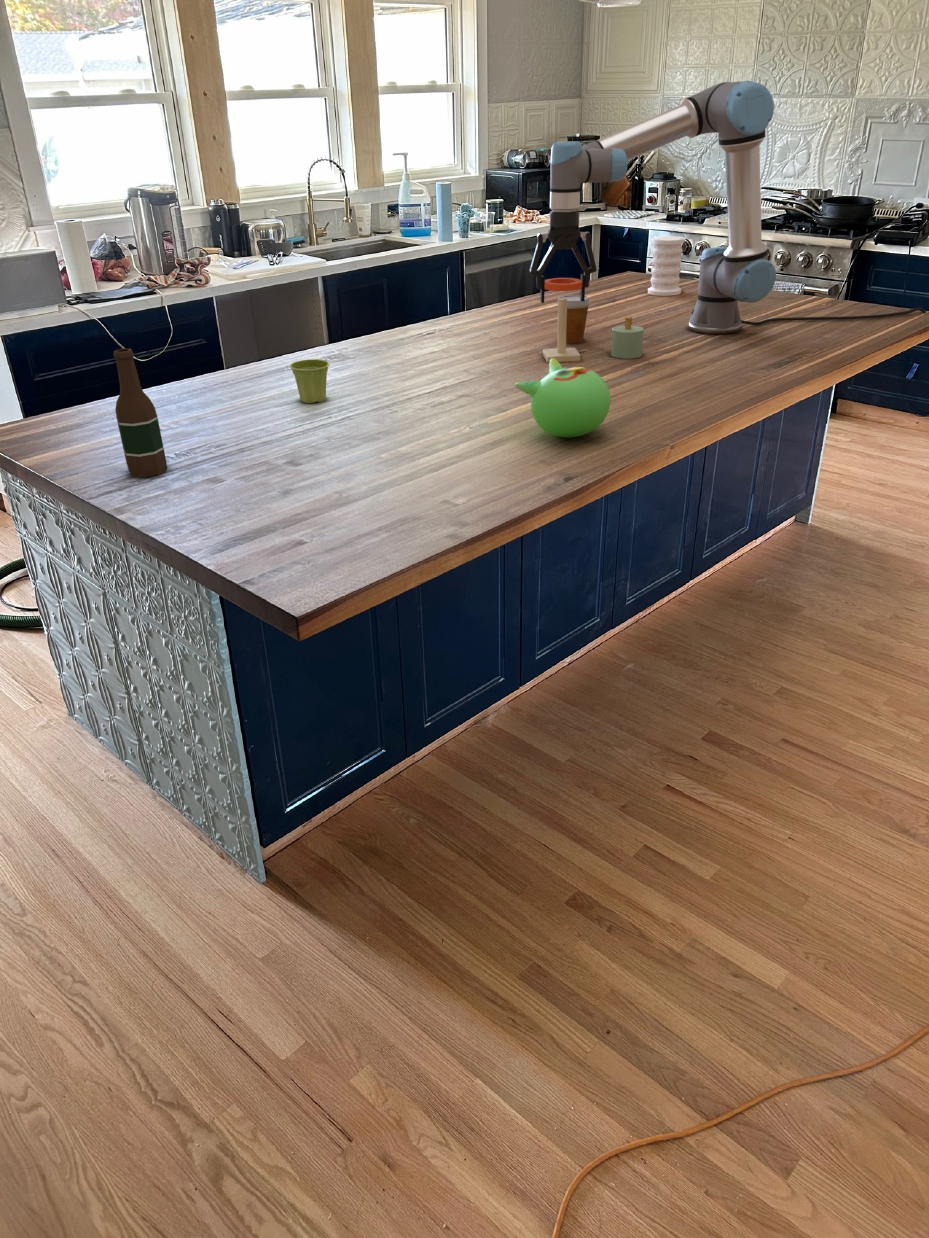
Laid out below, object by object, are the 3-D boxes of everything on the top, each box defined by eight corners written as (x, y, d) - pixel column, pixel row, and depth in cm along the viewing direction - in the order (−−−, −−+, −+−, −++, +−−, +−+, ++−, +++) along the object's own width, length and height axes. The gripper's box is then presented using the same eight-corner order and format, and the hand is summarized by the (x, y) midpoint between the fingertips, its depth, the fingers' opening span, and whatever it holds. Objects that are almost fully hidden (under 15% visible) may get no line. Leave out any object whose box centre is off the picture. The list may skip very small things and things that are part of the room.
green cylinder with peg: (638, 350, 257) (640, 313, 252) (645, 358, 250) (647, 320, 245) (608, 351, 257) (610, 314, 252) (614, 359, 249) (616, 321, 244)
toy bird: (585, 453, 186) (587, 380, 179) (512, 440, 194) (511, 370, 187) (621, 427, 199) (625, 359, 192) (551, 417, 207) (552, 350, 200)
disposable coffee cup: (588, 336, 273) (589, 294, 267) (589, 344, 265) (590, 301, 259) (556, 337, 274) (556, 294, 268) (555, 344, 266) (556, 301, 260)
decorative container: (647, 295, 323) (651, 240, 314) (647, 289, 333) (651, 236, 324) (681, 296, 321) (686, 240, 312) (680, 289, 331) (684, 235, 322)
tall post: (575, 353, 257) (576, 295, 249) (580, 361, 249) (582, 301, 241) (542, 354, 256) (543, 296, 249) (547, 362, 248) (547, 303, 241)
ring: (578, 283, 248) (578, 277, 247) (584, 290, 239) (584, 284, 238) (541, 284, 247) (541, 278, 247) (546, 291, 239) (546, 285, 238)
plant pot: (339, 395, 227) (336, 360, 222) (322, 407, 219) (318, 370, 215) (305, 393, 230) (301, 358, 225) (287, 404, 222) (282, 368, 218)
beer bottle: (133, 465, 188) (106, 346, 176) (171, 463, 188) (148, 344, 176) (124, 479, 181) (96, 356, 169) (164, 477, 181) (139, 354, 169)
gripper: (605, 207, 238) (601, 297, 249) (518, 210, 237) (518, 300, 248) (611, 210, 231) (607, 302, 242) (521, 213, 230) (521, 305, 241)
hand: (562, 301), depth 245 cm, fingers closed on ring, 10 cm apart
